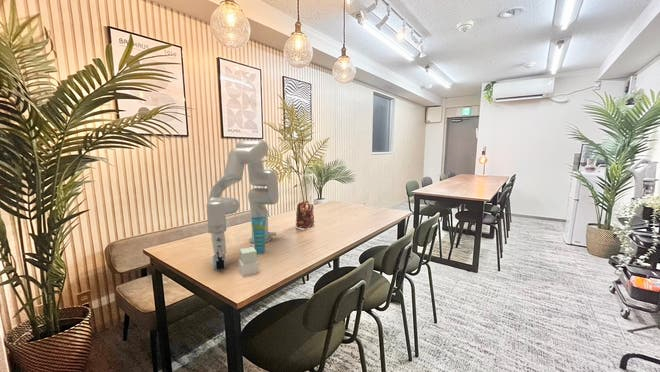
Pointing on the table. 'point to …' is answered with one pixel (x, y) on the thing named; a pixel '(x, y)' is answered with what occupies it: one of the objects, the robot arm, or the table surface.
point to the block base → (248, 268)
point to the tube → (259, 233)
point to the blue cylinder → (216, 260)
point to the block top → (248, 255)
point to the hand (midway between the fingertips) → (219, 265)
